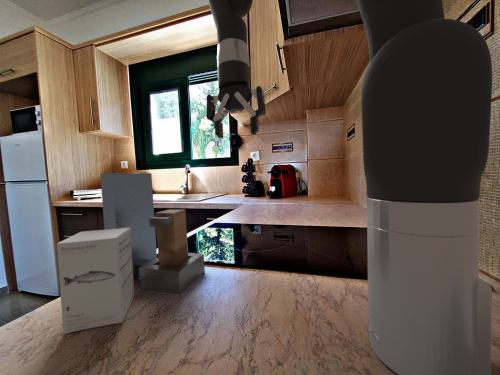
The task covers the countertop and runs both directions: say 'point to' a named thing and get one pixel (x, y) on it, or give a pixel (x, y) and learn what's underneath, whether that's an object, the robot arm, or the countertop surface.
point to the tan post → (171, 237)
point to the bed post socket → (144, 232)
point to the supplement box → (95, 278)
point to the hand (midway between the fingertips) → (236, 136)
